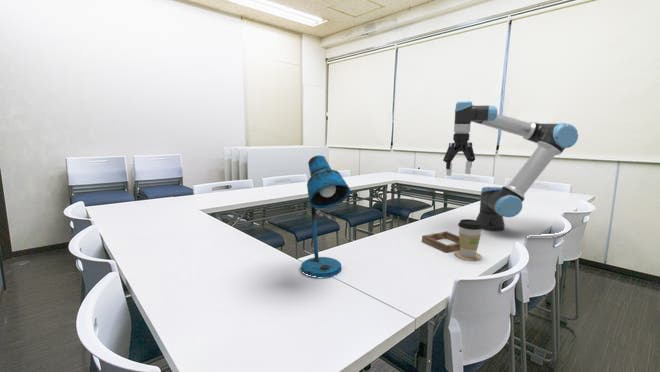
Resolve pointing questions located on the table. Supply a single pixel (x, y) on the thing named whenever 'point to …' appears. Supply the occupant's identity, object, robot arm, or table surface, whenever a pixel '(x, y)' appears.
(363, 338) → the table surface
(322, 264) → the desk lamp
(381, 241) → the table surface
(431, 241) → the pocket frame
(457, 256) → the cork coaster
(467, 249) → the coffee cup
